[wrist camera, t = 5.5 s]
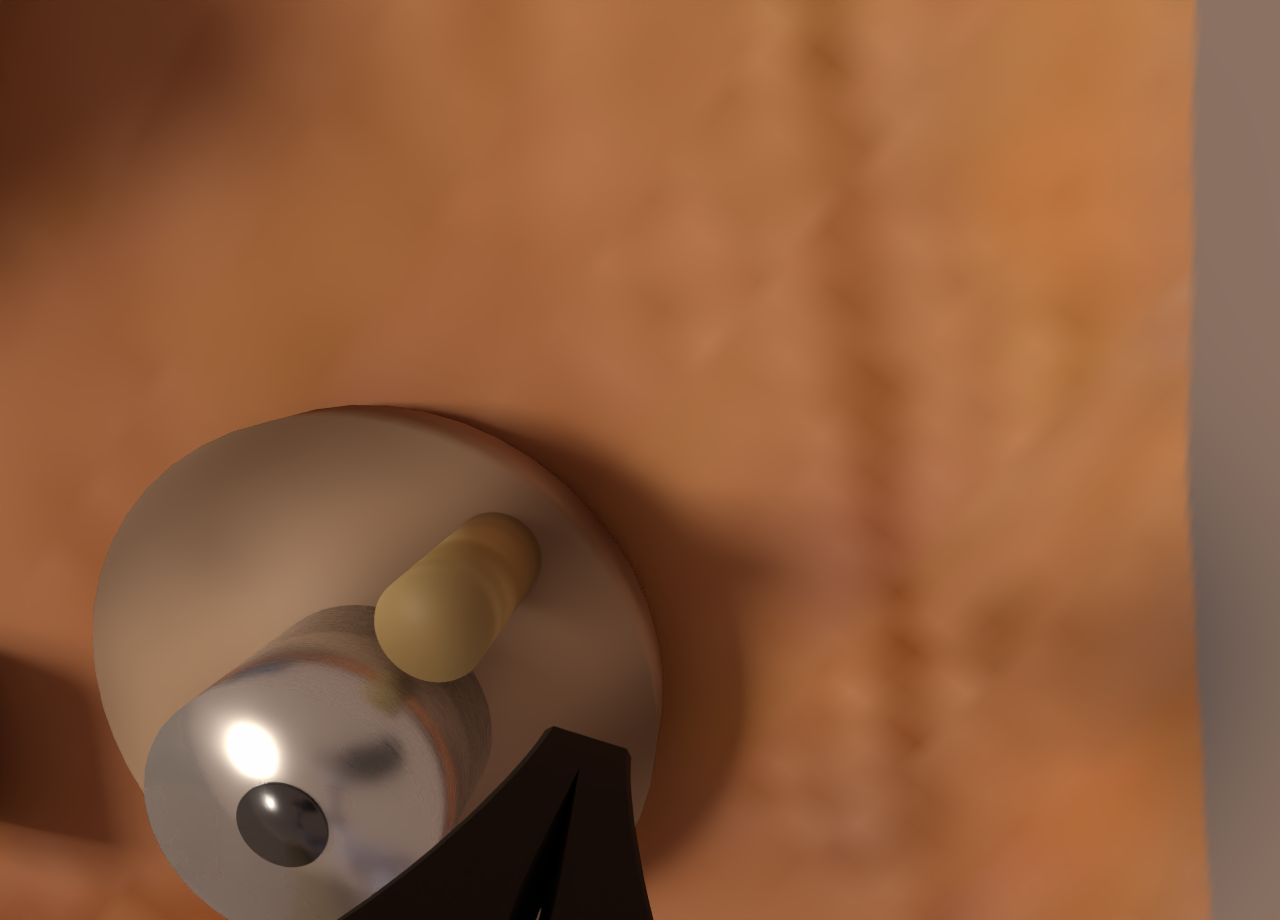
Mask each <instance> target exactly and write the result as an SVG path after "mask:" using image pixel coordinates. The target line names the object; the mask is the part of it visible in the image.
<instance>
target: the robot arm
mask: <svg viewBox="0 0 1280 920" xmlns="http://www.w3.org/2000/svg"><path fill="white" fill-rule="evenodd" d="M540 909H541V911H540ZM539 912H540V916H539V920H653V916H652V912H651V908H650V904H649V900H648V895H647V890H646V886H645V881H644V876H643V871H642V865H641V859H640V854H639V848H638V842H637V836H636V830H635V822H634V814H633V804H632V793H631V755H630V754H629V752H628V750H627V749H626V748H623V747H620V746H617V745H613V744H610V743H607V742H604V741H600V740H597V739H594V738H591V737H588V736H584V735H581V734H578V733H575V732H572V731H568V730H565V729H562V728H559V727H555V726H552V727H550V728H548V729H546V730H545V731H544V732H543V734H542V735H541V737H540V738H539V740H538V741H537V742H536V744H535V745H534V746H533V747H532V749H531V750H530V751H529V752H528V754H527V755H526V756H525V757H524V758H523V760H522V761H521V762H520V763H519V764H518V765H517V766H516V767H515V769H514V770H513V771H512V772H511V773H510V774H509V775H508V776H507V777H506V779H505V780H504V781H503V782H502V783H501V784H500V785H499V786H498V787H497V788H496V789H495V790H494V791H493V792H492V793H491V794H490V795H489V796H488V797H487V798H486V799H485V800H484V801H483V802H482V803H481V804H480V805H479V806H478V807H477V808H476V809H475V810H474V811H473V812H472V813H471V814H470V815H468V816H467V817H466V818H465V819H464V820H463V821H462V822H461V823H460V824H458V825H457V826H456V827H455V828H454V829H453V830H452V831H451V832H449V833H448V834H447V835H446V836H445V837H444V838H443V839H442V840H440V841H439V842H438V843H437V844H436V845H435V846H434V847H433V848H431V849H430V850H429V851H428V852H427V853H425V854H424V855H423V856H422V857H421V858H419V859H418V860H417V861H416V862H414V863H413V864H412V865H411V866H410V867H408V868H407V869H406V870H404V871H403V872H402V873H401V874H399V875H398V876H397V877H395V878H394V879H393V880H391V881H390V882H389V883H388V884H386V885H385V886H384V887H382V888H381V889H380V890H378V891H377V892H376V893H374V894H373V895H372V896H370V897H369V898H367V899H366V900H365V901H363V902H362V903H360V904H359V905H357V906H356V907H354V908H353V909H352V910H350V911H349V912H347V913H346V914H344V915H343V916H341V917H340V918H338V919H337V920H536V919H537V917H538V914H539Z"/></svg>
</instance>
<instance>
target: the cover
mask: <svg viewBox="0 0 1280 920" xmlns="http://www.w3.org/2000/svg"><path fill="white" fill-rule="evenodd" d="M375 609H376V607H373V606H364V605H346V606H337V607H332V608H327V609H323V610H321V611H318V612H315V613H313V614H310V615H308V616H307V617H305V618H303V619H301V620H299V621H298V622H297V623H295V624H294V625H292V626H291V627H290V628H288V629H287V630H286V631H284V632H283V633H282V634H280V635H279V636H278V637H276V638H275V639H274V640H272V641H271V642H270V643H268V644H267V645H265V646H264V647H263V648H261V649H260V650H259V651H257V652H256V653H255V654H253V655H252V656H251V657H249V658H248V659H247V660H245V661H244V662H242V663H241V664H240V665H238V666H237V667H236V668H234V669H233V670H232V671H230V672H229V673H228V674H226V675H225V676H224V677H222V678H221V679H220V680H218V681H217V682H215V683H214V684H213V685H211V686H210V687H209V688H207V689H206V690H205V691H203V692H202V693H201V694H199V695H198V696H197V697H195V698H194V699H192V700H191V701H190V702H188V703H187V704H186V705H184V706H183V707H182V708H181V709H179V710H178V711H177V712H176V713H174V714H173V715H172V716H171V717H170V718H169V720H168V721H167V722H166V723H165V724H164V725H163V726H162V728H161V729H160V731H159V733H158V734H157V736H156V737H155V739H154V741H153V744H152V746H151V749H150V751H149V753H148V758H147V762H146V766H145V774H144V795H145V804H146V809H147V813H148V818H149V821H150V824H151V827H152V830H153V832H154V835H155V837H156V839H157V841H158V843H159V846H160V848H161V850H162V851H163V853H164V855H165V856H166V858H167V859H168V861H169V863H170V864H171V866H172V867H173V868H174V870H175V871H176V872H177V874H178V875H179V876H180V877H181V879H182V880H183V881H184V882H185V883H186V884H187V885H188V886H189V887H190V889H191V890H192V891H193V892H194V893H195V894H196V895H197V896H199V897H200V898H201V899H202V900H203V901H204V902H205V903H207V904H208V905H209V906H210V907H211V908H213V909H214V910H216V911H217V912H218V913H220V914H221V915H223V916H224V917H225V918H227V919H229V920H337V919H338V918H340V917H341V916H343V915H344V914H346V913H347V912H349V911H350V910H352V909H353V908H354V907H356V906H357V905H359V904H360V903H362V902H363V901H365V900H366V899H367V898H369V897H370V896H372V895H373V894H374V893H376V892H377V891H378V890H380V889H381V888H382V887H384V886H385V885H386V884H388V883H389V882H390V881H391V880H393V879H394V878H395V877H397V876H398V875H399V874H401V873H402V872H403V871H404V870H406V869H407V868H408V867H410V866H411V865H412V864H413V863H414V862H416V861H417V860H418V859H419V858H421V857H422V856H423V855H424V854H425V853H427V852H428V851H429V850H430V849H431V848H433V847H434V846H435V845H436V844H437V843H438V842H439V841H440V840H442V839H443V838H444V837H445V836H446V835H447V834H448V833H449V832H451V831H452V830H453V829H454V827H455V826H456V824H457V822H458V820H459V818H460V816H461V814H462V812H463V810H464V808H465V806H466V804H467V802H468V801H469V799H470V797H471V795H472V793H473V791H474V789H475V787H476V785H477V783H478V781H479V779H480V778H481V776H482V774H483V771H484V769H485V766H486V764H487V762H488V758H489V753H490V749H491V739H492V727H491V717H490V712H489V708H488V704H487V701H486V698H485V695H484V692H483V690H482V688H481V686H480V684H479V682H478V680H477V678H476V676H475V674H474V673H473V671H471V672H469V673H468V674H466V675H465V676H463V677H461V678H459V679H456V680H453V681H448V682H430V681H424V680H421V679H418V678H415V677H413V676H411V675H409V674H407V673H405V672H404V671H402V670H401V669H400V668H398V667H397V666H396V665H395V664H394V663H393V662H392V661H391V660H390V659H389V658H388V657H387V655H386V654H385V653H384V651H383V650H382V648H381V646H380V644H379V641H378V639H377V636H376V632H375V625H374V615H375Z"/></svg>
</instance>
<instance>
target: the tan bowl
mask: <svg viewBox="0 0 1280 920" xmlns="http://www.w3.org/2000/svg"><path fill="white" fill-rule="evenodd" d="M346 605H364V606H373V607H376V609H375V615H374V625H375V632H376V636H377V639H378V641H379V644H380V646H381V648H382V650H383V651H384V653H385V654H386V655H387V657H388V658H389V659H390V660H391V661H392V662H393V663H394V664H395V665H396V666H397V667H398V668H400V669H401V670H402V671H404V672H405V673H407V674H409V675H411V676H413V677H415V678H418V679H421V680H424V681H430V682H448V681H453V680H456V679H459V678H461V677H463V676H465V675H466V674H468V673H469V672H471V671H473V673H474V674H475V676H476V678H477V680H478V682H479V684H480V686H481V688H482V690H483V692H484V695H485V698H486V701H487V704H488V708H489V712H490V717H491V727H492V739H491V749H490V753H489V758H488V762H487V764H486V766H485V769H484V771H483V774H482V776H481V778H480V779H479V781H478V783H477V785H476V787H475V789H474V791H473V793H472V795H471V797H470V799H469V801H468V802H467V804H466V806H465V808H464V810H463V812H462V814H461V816H460V818H459V820H458V822H457V824H456V826H457V825H458V824H460V823H461V822H462V821H463V820H464V819H465V818H466V817H467V816H468V815H470V814H471V813H472V812H473V811H474V810H475V809H476V808H477V807H478V806H479V805H480V804H481V803H482V802H483V801H484V800H485V799H486V798H487V797H488V796H489V795H490V794H491V793H492V792H493V791H494V790H495V789H496V788H497V787H498V786H499V785H500V784H501V783H502V782H503V781H504V780H505V779H506V777H507V776H508V775H509V774H510V773H511V772H512V771H513V770H514V769H515V767H516V766H517V765H518V764H519V763H520V762H521V761H522V760H523V758H524V757H525V756H526V755H527V754H528V752H529V751H530V750H531V749H532V747H533V746H534V745H535V744H536V742H537V741H538V740H539V738H540V737H541V735H542V734H543V732H544V731H545V730H546V729H548V728H550V727H552V726H555V727H559V728H562V729H565V730H568V731H572V732H575V733H578V734H581V735H584V736H588V737H591V738H594V739H597V740H600V741H604V742H607V743H610V744H613V745H617V746H620V747H623V748H626V749H627V750H628V752H629V754H630V755H631V793H632V804H633V814H634V822H635V826H636V824H637V822H638V820H639V818H640V816H641V813H642V810H643V807H644V804H645V801H646V798H647V794H648V791H649V788H650V785H651V779H652V773H653V767H654V760H655V754H656V748H657V742H658V735H659V729H660V722H661V716H662V709H663V670H662V663H661V656H660V648H659V641H658V637H657V634H656V630H655V627H654V623H653V620H652V616H651V613H650V609H649V606H648V603H647V601H646V599H645V596H644V594H643V592H642V590H641V587H640V585H639V583H638V580H637V578H636V576H635V574H634V572H633V570H632V568H631V567H630V565H629V563H628V562H627V560H626V558H625V557H624V555H623V553H622V552H621V550H620V548H619V547H618V545H617V543H616V542H615V540H614V539H613V537H612V536H611V535H610V534H609V532H608V531H607V530H606V528H605V527H604V526H603V525H602V523H601V522H600V521H599V520H598V518H597V517H596V516H595V514H594V513H593V512H592V511H591V509H590V508H589V507H588V506H587V505H586V504H584V503H583V502H582V501H581V500H580V499H579V498H578V497H577V496H576V495H575V494H574V493H573V492H572V491H571V490H570V489H569V488H568V487H567V486H566V485H565V484H564V483H563V482H562V481H561V480H559V479H558V478H557V477H556V476H554V475H553V474H552V473H550V472H549V471H548V470H547V469H545V468H544V467H543V466H541V465H540V464H539V463H537V462H536V461H535V460H534V459H532V458H531V457H529V456H527V455H526V454H524V453H522V452H521V451H519V450H517V449H516V448H514V447H512V446H511V445H509V444H507V443H505V442H504V441H502V440H500V439H499V438H497V437H494V436H492V435H490V434H488V433H485V432H483V431H481V430H478V429H476V428H474V427H471V426H469V425H467V424H465V423H462V422H459V421H456V420H452V419H449V418H445V417H442V416H438V415H435V414H432V413H428V412H425V411H418V410H412V409H405V408H399V407H392V406H371V405H348V406H340V407H332V408H324V409H316V410H312V411H308V412H304V413H301V414H297V415H293V416H289V417H285V418H281V419H277V420H274V421H270V422H266V423H262V424H259V425H255V426H252V427H248V428H244V429H241V430H237V431H234V432H231V433H229V434H227V435H225V436H222V437H220V438H218V439H216V440H214V441H211V442H209V443H207V444H205V445H203V446H201V447H199V448H197V449H196V450H194V451H193V452H191V453H190V454H188V455H187V456H185V457H184V458H182V459H181V460H179V461H178V462H176V463H175V464H173V465H172V466H171V467H170V468H169V469H167V470H166V471H165V472H164V473H163V474H162V475H161V476H160V477H159V478H158V479H157V480H156V481H155V482H153V483H152V484H151V485H150V486H149V487H148V488H147V489H146V490H145V492H144V493H143V494H142V496H141V497H140V498H139V499H138V501H137V502H136V503H135V505H134V506H133V507H132V508H131V510H130V511H129V512H128V514H127V515H126V517H125V519H124V521H123V522H122V524H121V526H120V528H119V530H118V532H117V533H116V535H115V537H114V539H113V541H112V543H111V545H110V548H109V551H108V553H107V556H106V559H105V562H104V565H103V568H102V570H101V573H100V578H99V583H98V588H97V593H96V599H95V604H94V617H93V638H92V639H93V651H94V662H95V673H96V677H97V682H98V687H99V691H100V696H101V700H102V705H103V708H104V711H105V714H106V717H107V719H108V722H109V725H110V728H111V731H112V734H113V737H114V739H115V741H116V743H117V745H118V747H119V749H120V752H121V754H122V756H123V758H124V760H125V762H126V764H127V766H128V768H129V770H130V771H131V773H132V775H133V776H134V778H135V780H136V781H137V783H138V784H139V786H140V788H141V789H142V791H143V793H144V774H145V766H146V762H147V758H148V753H149V751H150V749H151V746H152V744H153V741H154V739H155V737H156V736H157V734H158V733H159V731H160V729H161V728H162V726H163V725H164V724H165V723H166V722H167V721H168V720H169V718H170V717H171V716H172V715H173V714H174V713H176V712H177V711H178V710H179V709H181V708H182V707H183V706H184V705H186V704H187V703H188V702H190V701H191V700H192V699H194V698H195V697H197V696H198V695H199V694H201V693H202V692H203V691H205V690H206V689H207V688H209V687H210V686H211V685H213V684H214V683H215V682H217V681H218V680H220V679H221V678H222V677H224V676H225V675H226V674H228V673H229V672H230V671H232V670H233V669H234V668H236V667H237V666H238V665H240V664H241V663H242V662H244V661H245V660H247V659H248V658H249V657H251V656H252V655H253V654H255V653H256V652H257V651H259V650H260V649H261V648H263V647H264V646H265V645H267V644H268V643H270V642H271V641H272V640H274V639H275V638H276V637H278V636H279V635H280V634H282V633H283V632H284V631H286V630H287V629H288V628H290V627H291V626H292V625H294V624H295V623H297V622H298V621H299V620H301V619H303V618H305V617H307V616H308V615H310V614H313V613H315V612H318V611H321V610H323V609H327V608H332V607H337V606H346ZM456 826H455V827H456ZM455 827H454V828H455ZM540 911H541V909H540ZM539 916H540V912H539V914H538V917H537V919H536V920H539Z"/></svg>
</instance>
